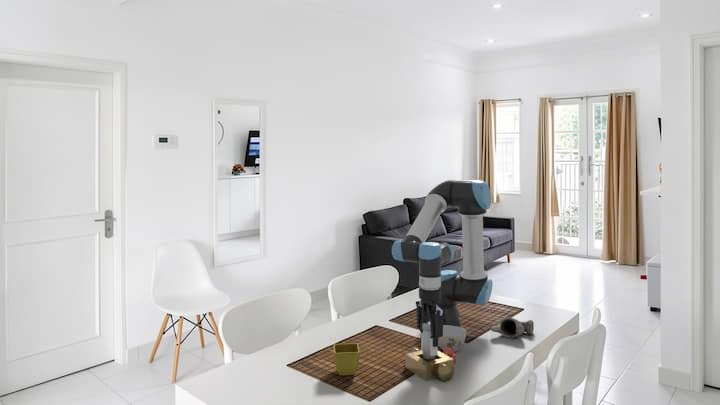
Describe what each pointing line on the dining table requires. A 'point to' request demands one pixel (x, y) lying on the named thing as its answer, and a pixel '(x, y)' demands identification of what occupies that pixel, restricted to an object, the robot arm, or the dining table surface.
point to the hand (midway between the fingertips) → (429, 352)
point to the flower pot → (346, 358)
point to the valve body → (431, 364)
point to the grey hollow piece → (513, 327)
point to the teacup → (452, 337)
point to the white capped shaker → (427, 341)
